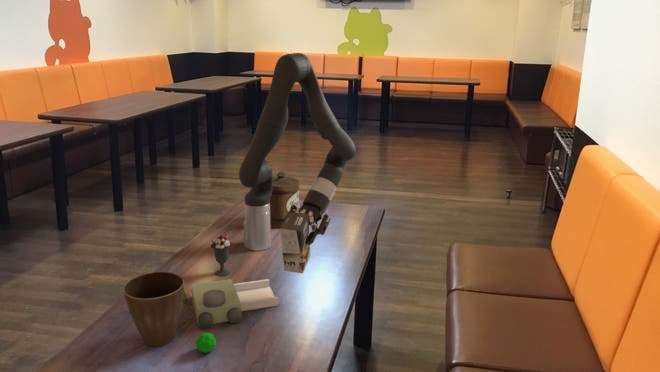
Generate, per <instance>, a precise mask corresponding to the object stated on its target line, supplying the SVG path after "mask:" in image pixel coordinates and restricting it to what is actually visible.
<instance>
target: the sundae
mask: <svg viewBox="0 0 660 372" xmlns="http://www.w3.org/2000/svg"><path fill="white" fill-rule="evenodd" d="M227 232H228V230H226V229H225V230H224V232H223V234H220V235H219V236H217V237H216V239H215V240H211V242H212V243H211V244H210V248H212V249H213V253H214V258H215V262H217V263H218V264H219V265H220V267H219V269H218V270H216V271H215V272H214V275H216V276H218V277H223V276H225V277H226V276H227V275H229V274H230V273H231V271H230V270H229V269H226V268H225V263H227V261H229V254H230V253H229V252H230V247H232V243H231V242H230V241H229V239H228V236H226V233H227Z"/></svg>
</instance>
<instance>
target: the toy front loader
mask: <svg viewBox="0 0 660 372" xmlns="http://www.w3.org/2000/svg"><path fill="white" fill-rule="evenodd" d="M191 293H192V294H191V296H192V303H193V308H194V314H195V316H196V317H195V318H196V321H197V326H198V327H200V328H201V329H208V328H210V327H212V326H213V325H215V324H220V323H221V324H222V323H225V322H229V323H230V324H237V323H238V324H239V322H241V321H242V319H243V313H242V312H245V311H252V310H258V309H264V308H265V309H266V308H271V307H276V306H277V307H278V306H280V304H279V303H280V302H279V301H280V300H279V299H280V298H279V296H275V294H274V293H273V290H272V288H271V287H270V279H269V278H267V279H266V278H265V279H259V280H251V281H246V282H244V281H243V282H238V283H234V282H233V278H229V279H223V280H215V281H213V280H212V281H208V282H201V283H193V284H191Z"/></svg>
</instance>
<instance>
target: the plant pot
mask: <svg viewBox="0 0 660 372" xmlns="http://www.w3.org/2000/svg"><path fill="white" fill-rule="evenodd" d="M184 289H185V280H184V278H183V277H182V276H181V275H179V274H177V273H175V272H169V271H157V272H156V271H155V272H149V273H145V274H140V275H138V276H136V277H133V278H132V279H129V281H127V282H126V283H125V284H124V286H123V288H122V291H123V295H124V298H125V302H126V304H127V308H128V311H129V314H130V315H131V318H132V320H133V323H134V325H135V327H136V329H137V331H138V332H139V335H140V336H141V338H142V339H143V341H144V343H145V344H146V345H147V346H150V347H162V346H165V345H167V344H169V343H171V342H172V341H173V339H174V338H175V335H176V332H177V328H178V325H179V321H180V317H181V312H182V307H183V302H182V301H183V292H184Z"/></svg>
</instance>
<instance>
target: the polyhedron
mask: <svg viewBox="0 0 660 372" xmlns="http://www.w3.org/2000/svg"><path fill="white" fill-rule="evenodd" d="M216 344H217V340H216V337H215V336H214V335H213V334H212V333H210V332H203V333H202V334H199V335H198V336H197V339H196V341H195V347H196V348H197V350H199V352H201V353H205V354H206V353H209V352H211V351H213V350H214V349H215V347H216Z"/></svg>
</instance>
